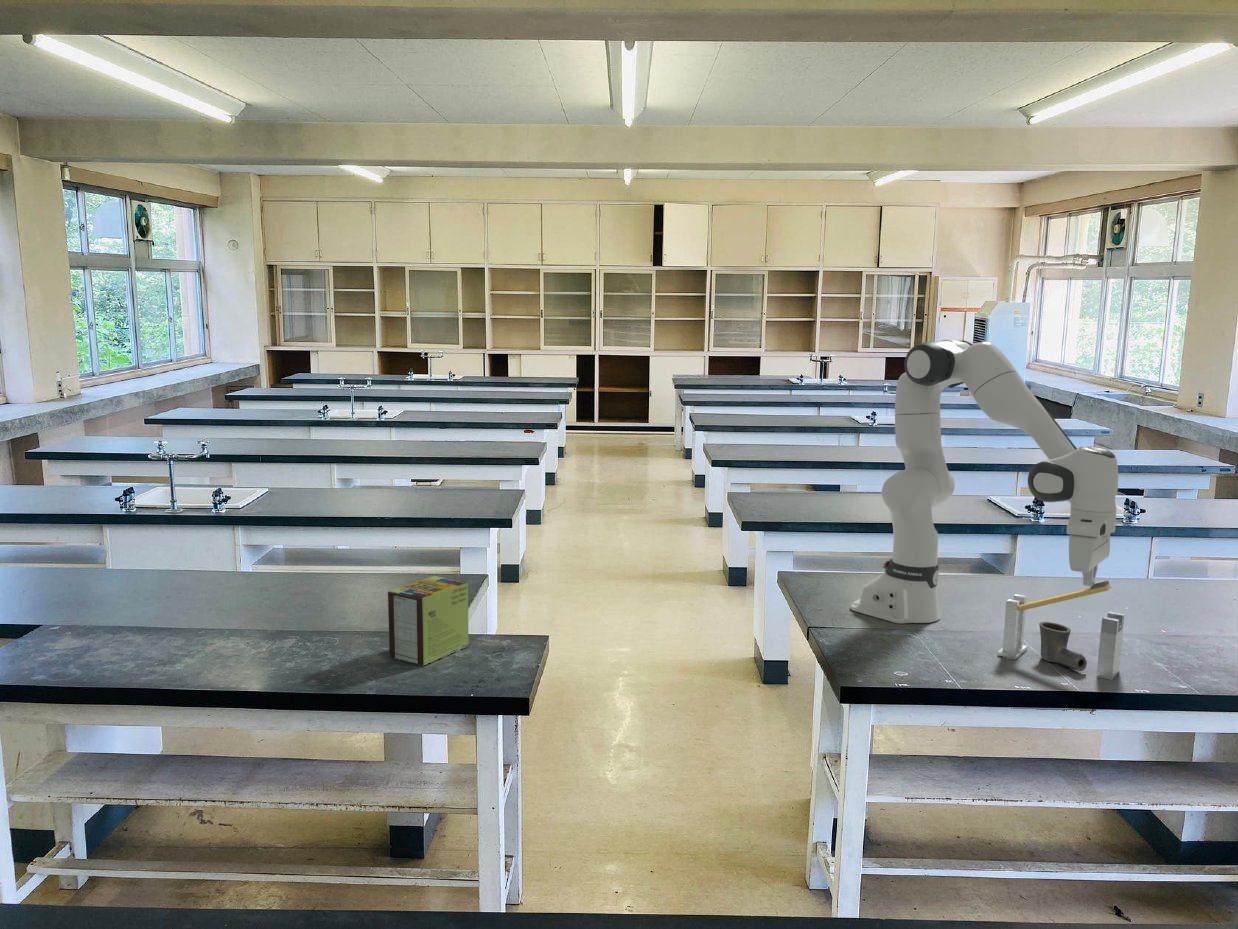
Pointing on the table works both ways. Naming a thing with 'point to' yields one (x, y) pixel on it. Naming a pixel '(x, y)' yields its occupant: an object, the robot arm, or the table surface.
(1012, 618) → the grey slotted stand
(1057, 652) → the pipe
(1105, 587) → the yellow bar
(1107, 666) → the stop block
